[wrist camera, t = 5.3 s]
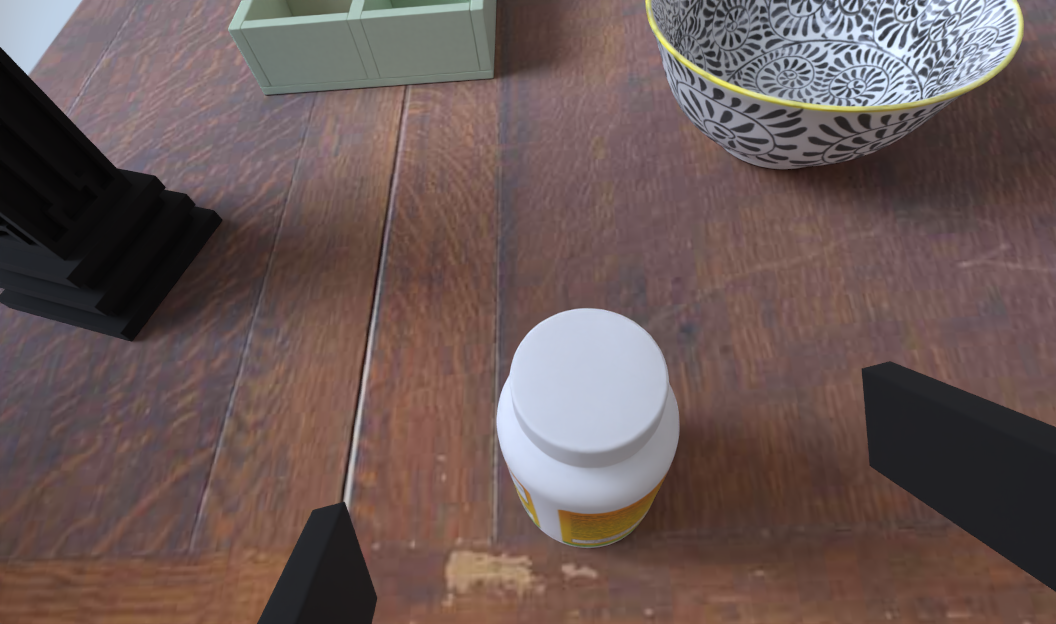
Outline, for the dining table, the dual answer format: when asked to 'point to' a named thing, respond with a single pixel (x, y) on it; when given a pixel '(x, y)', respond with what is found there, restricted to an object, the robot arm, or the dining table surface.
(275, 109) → the dining table surface
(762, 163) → the bowl
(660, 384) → the supplement bottle
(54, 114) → the chess piece
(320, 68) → the grid
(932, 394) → the robot arm
